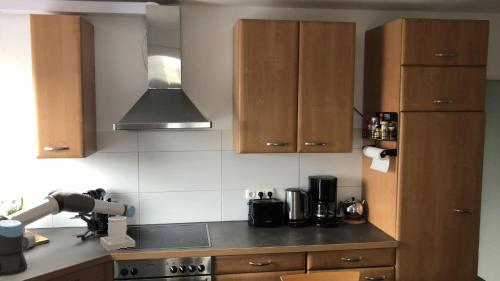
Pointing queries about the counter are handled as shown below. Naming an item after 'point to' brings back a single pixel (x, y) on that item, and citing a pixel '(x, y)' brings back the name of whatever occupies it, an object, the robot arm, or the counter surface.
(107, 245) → the holder
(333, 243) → the counter surface
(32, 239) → the ceramic mug
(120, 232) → the jar
